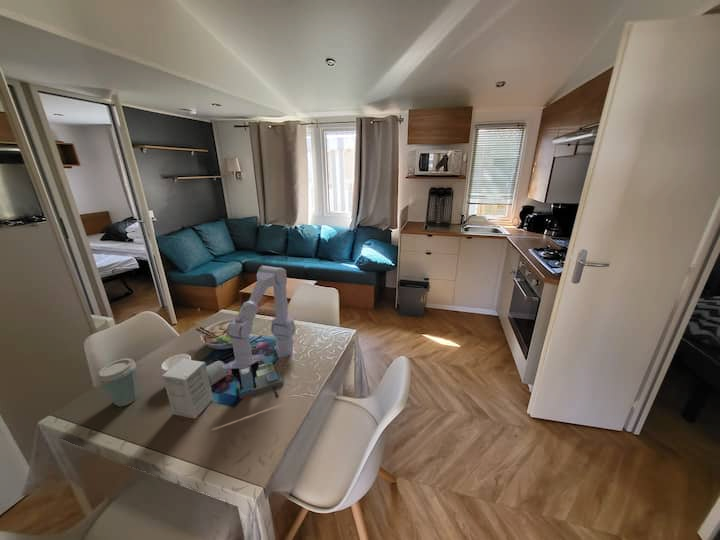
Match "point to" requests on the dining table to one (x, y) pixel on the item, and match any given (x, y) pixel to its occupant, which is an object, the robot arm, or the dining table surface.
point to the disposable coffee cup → (120, 381)
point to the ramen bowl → (217, 335)
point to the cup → (173, 361)
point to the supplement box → (188, 388)
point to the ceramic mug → (215, 372)
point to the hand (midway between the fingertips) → (247, 380)
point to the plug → (246, 378)
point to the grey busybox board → (263, 384)
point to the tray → (265, 369)
